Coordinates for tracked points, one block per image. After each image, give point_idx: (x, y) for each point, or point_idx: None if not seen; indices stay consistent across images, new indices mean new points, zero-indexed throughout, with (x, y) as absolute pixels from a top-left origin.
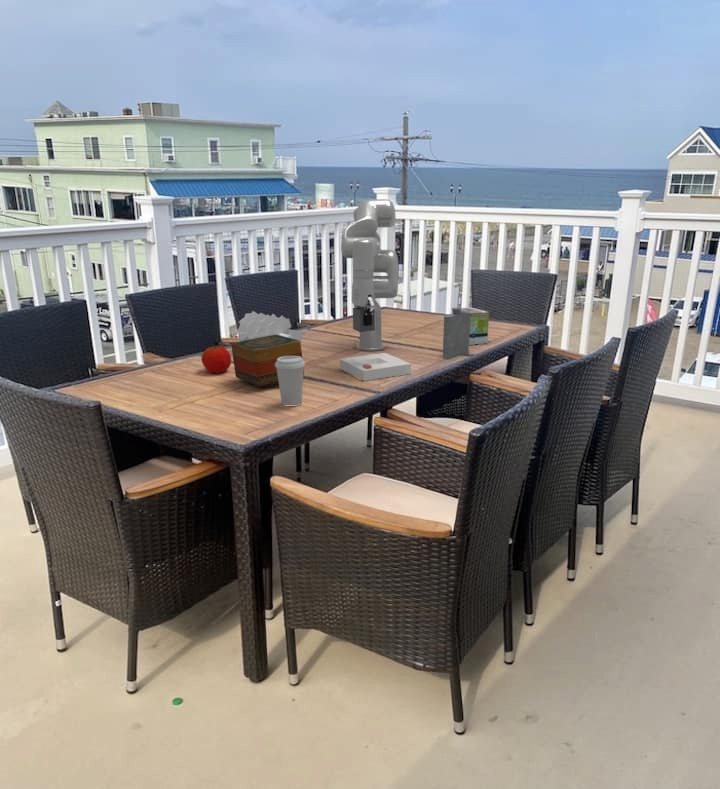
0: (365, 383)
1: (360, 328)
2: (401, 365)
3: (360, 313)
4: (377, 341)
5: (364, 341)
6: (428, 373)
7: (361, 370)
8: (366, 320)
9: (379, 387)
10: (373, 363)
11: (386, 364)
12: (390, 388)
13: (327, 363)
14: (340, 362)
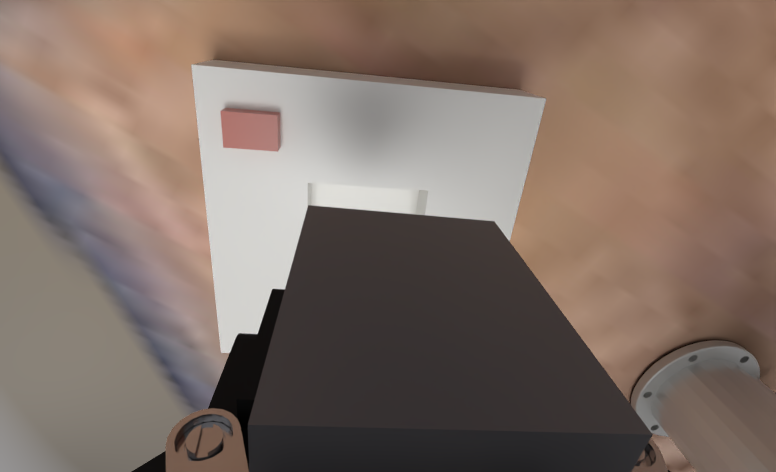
0: (172, 46)
1: (302, 229)
2: (217, 306)
3: (264, 378)
4: (670, 423)
5: (718, 384)
6: (211, 374)
7: (225, 67)
8: (249, 356)
9: (60, 69)
10: None
11: (268, 256)
12: (21, 111)
13: (663, 92)
14: (528, 94)
